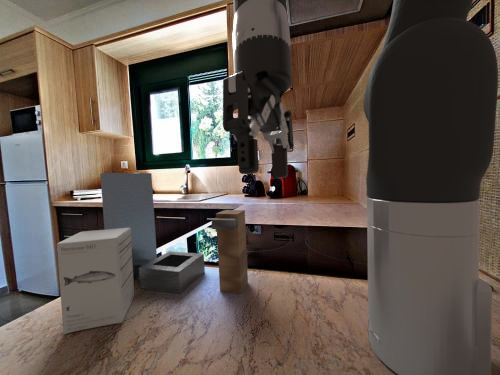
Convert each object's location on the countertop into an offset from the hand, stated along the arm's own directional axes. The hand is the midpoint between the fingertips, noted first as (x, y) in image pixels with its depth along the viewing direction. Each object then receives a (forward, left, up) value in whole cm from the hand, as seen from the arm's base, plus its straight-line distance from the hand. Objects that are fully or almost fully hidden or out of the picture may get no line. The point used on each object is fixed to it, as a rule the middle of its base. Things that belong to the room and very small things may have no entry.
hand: (266, 175), depth 28 cm
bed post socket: (+25, -9, -20) cm, 34 cm away
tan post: (+9, -9, -20) cm, 24 cm away
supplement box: (+26, +3, -21) cm, 33 cm away
